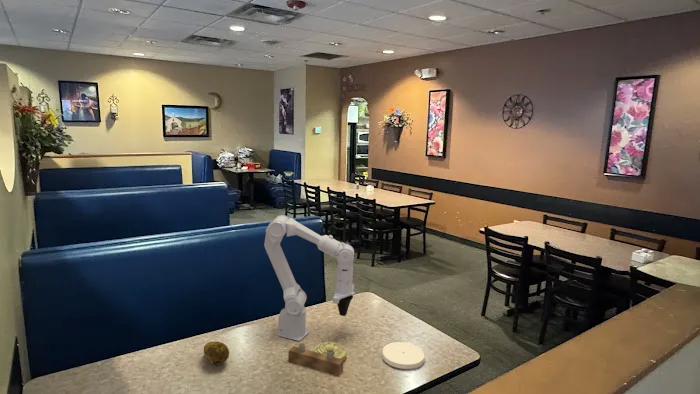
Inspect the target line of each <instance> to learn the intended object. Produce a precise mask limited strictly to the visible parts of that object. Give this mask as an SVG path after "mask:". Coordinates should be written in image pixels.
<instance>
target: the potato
mask: <svg viewBox="0 0 700 394" xmlns="http://www.w3.org/2000/svg"><path fill="white" fill-rule="evenodd" d="M203 353H204V355H205V358H206V359H207V360H209V362H211V365H213V366H217V365H222V364H224V363H225V362H226V361H227V360H228V359H229V356H230V349H229V348H228V346H227V344H225V343H224V342H221V341H209V342H207V343H205V345H204V346H203Z"/></svg>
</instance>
